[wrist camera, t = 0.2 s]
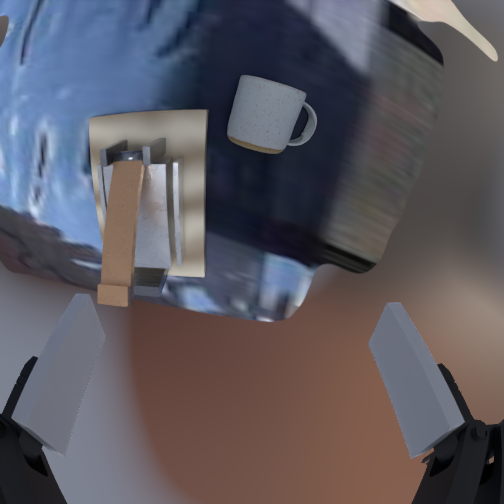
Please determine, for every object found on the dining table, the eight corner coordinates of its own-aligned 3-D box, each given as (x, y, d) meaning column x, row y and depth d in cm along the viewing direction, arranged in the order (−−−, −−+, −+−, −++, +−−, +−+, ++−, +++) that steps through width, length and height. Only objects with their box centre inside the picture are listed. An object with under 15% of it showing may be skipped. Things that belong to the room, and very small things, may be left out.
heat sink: (106, 141, 31) (82, 151, 25) (183, 137, 31) (171, 146, 26) (122, 268, 41) (107, 294, 35) (186, 272, 41) (179, 300, 36)
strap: (120, 154, 28) (114, 147, 26) (147, 153, 29) (142, 145, 27) (105, 301, 27) (97, 303, 25) (134, 304, 27) (127, 306, 25)
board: (95, 116, 30) (88, 117, 29) (208, 109, 31) (206, 110, 30) (112, 264, 42) (108, 271, 41) (205, 269, 44) (204, 277, 42)
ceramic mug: (225, 136, 33) (222, 145, 27) (240, 76, 29) (242, 70, 23) (303, 155, 35) (319, 170, 29) (320, 99, 31) (341, 100, 25)
